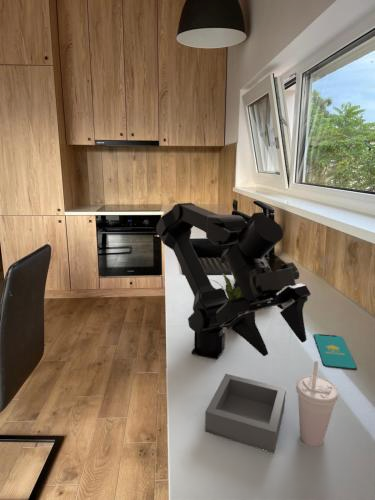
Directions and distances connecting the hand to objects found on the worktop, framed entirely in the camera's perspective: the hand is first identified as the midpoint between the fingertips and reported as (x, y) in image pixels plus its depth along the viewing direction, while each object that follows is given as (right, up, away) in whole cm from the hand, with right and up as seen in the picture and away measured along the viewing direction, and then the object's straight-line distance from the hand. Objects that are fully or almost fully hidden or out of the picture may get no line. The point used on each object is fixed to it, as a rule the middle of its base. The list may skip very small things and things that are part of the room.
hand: (285, 348), depth 60 cm
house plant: (-3, -5, +35) cm, 35 cm away
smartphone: (+18, -8, +24) cm, 31 cm away
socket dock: (-7, -13, +1) cm, 15 cm away
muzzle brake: (+8, +2, +63) cm, 63 cm away
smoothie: (+3, -14, -3) cm, 15 cm away
